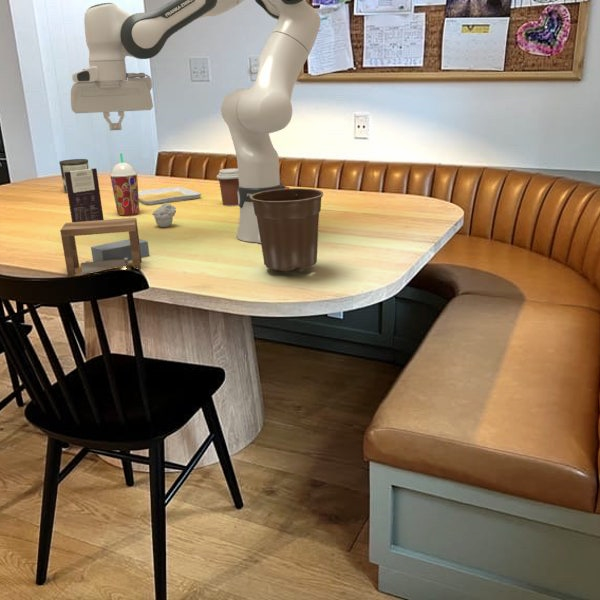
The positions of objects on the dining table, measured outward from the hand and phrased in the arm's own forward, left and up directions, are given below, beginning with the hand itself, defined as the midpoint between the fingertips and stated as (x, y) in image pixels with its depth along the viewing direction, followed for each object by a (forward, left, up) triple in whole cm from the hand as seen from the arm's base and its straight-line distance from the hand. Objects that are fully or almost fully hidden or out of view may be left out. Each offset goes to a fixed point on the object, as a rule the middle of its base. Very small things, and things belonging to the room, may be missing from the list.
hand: (115, 130), depth 165 cm
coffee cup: (-32, -39, -29) cm, 58 cm away
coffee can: (+23, -77, -29) cm, 86 cm away
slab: (+1, +21, -30) cm, 36 cm away
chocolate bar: (+12, -12, -29) cm, 34 cm away
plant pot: (-38, +38, -29) cm, 61 cm away
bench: (+4, +28, -29) cm, 41 cm away
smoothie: (+2, -32, -29) cm, 44 cm away
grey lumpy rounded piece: (-10, -12, -29) cm, 33 cm away
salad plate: (-9, -57, -30) cm, 65 cm away
